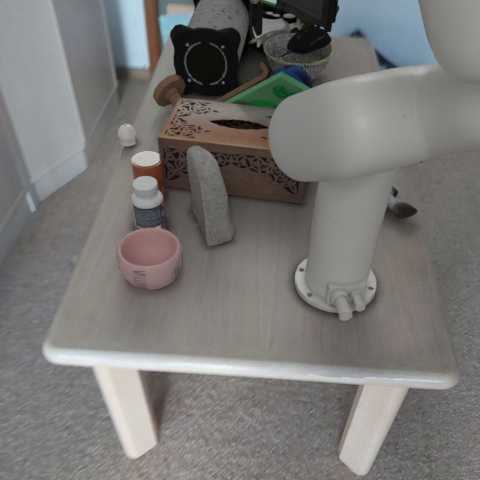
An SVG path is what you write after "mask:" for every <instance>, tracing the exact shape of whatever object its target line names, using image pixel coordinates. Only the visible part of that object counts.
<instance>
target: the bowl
mask: <svg viewBox="0 0 480 480" xmlns="http://www.w3.org/2000/svg"><path fill="white" fill-rule="evenodd" d="M295 34H296V33H289V34H282V35H278V36H275V37H272V38H270V39H269V40H267V41H266V42H265V44H264V45H263V46H264V47H263V49H264V52H263V53H265V56H266V58H267V62H268V64H269V67H270V69H271V70H272V73H274V72H275V71H276V70H277V69H278V68H280V67H282V66H285V65H297V66H299V67H301V68H303V69H304V70H305V71H306V72H307V73H308V74H309V76H310V78H311V80H312V81H313V80H315V79H316V78H318V77H319V76H320V75H321V74H322V73H323V72H324V71H325V69H326V67H327V65H328V63H329V61H330V59H331V57H332V56H333V54H334V51H335V48H334V46H333V44H331V43H330V44H328V45H327V46H326V47H324V48H321V49H318V50H315V51H313V52H310V53H307V54H297V53H293V52H291V53H290V54H288V55H285V56H283V57H281V55H283V54H285V53H286V52H287V51H289V50H288V49H287V44H288V42H289V40H290V39H291V38H292V37H293V36H294V35H295Z"/></svg>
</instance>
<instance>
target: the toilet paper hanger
mask: <svg viewBox="0 0 480 480" xmlns="http://www.w3.org/2000/svg"><path fill="white" fill-rule="evenodd" d="M257 69H258V70H259V71H260V73H261V74H260V75H258V76H256V77H254V78H253V79H251V80H249V81H247V82H245V83H243V84H242V85H240V87H238V88H236V89H234V90H233V91H231V92H229V93H227V94H225V95H224V96H220V97H218V98H216V99H214V101H215V102H225V101H227V100H229V99H230V98H232V97H234V96H236V95H238V94H240V93H242V92H244V91H246V90H247V89H249V88H251V87H253V86H255V85H257V84H259V83H261V82H263V81H264V80H266V79H267V77H268V74H269V69H268V67H267V66H266V64H265V63H264V62H263V61H262V62H260V63H258V65H257ZM185 86H186V85H185V82H184V80H183V79H182V78H181V76H179V75H176V73H173V74H171V75H168V76H166V77H165V78H164V79H162V80H161V81H159V83H158V84H157V86H156V87H155V88H154V90H153V95H152V97H153V99H154V101H155V103H156V104H157V105H158V106H159V107H163V108H165V107H167V106H171V105H172V107H174V106H175V104H176V103H177V101H178V99H179V98H183V95H182V93H183V92H184V89H185Z"/></svg>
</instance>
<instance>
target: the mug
mask: <svg viewBox="0 0 480 480" xmlns="http://www.w3.org/2000/svg"><path fill="white" fill-rule="evenodd" d="M116 261H117V262H116V263H117V267H118V269H119V271H120V273H121V274H122V277H124V278H125V280H126V281H127V282H128V283H129V284H130V285H132V286H134V287H136V288H138V289H141V290H146V291H156V290H159V289H164V288H166V287H168V286H170V285H171V284H172V283H173V282H174V281H176V279H177V278H178V276H179V274H180V272H181V271H182V269H183V268H182V267H183V265H184V249H183V246H182V242H181V240H180V239H179V238H178V236H177V235H175V234H174V233H173V232H171V231H169V230H167V229H165V230H164V229H162V227H161V226H157V227H156V228H143V229H139V230H136V229H135V230H133V231H131V232H129V233H127V234H126V235H125V236H124V237H122V239H121V240H120V242H119V243H118V245H117V248H116Z"/></svg>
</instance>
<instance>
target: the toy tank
mask: <svg viewBox="0 0 480 480" xmlns="http://www.w3.org/2000/svg"><path fill="white" fill-rule="evenodd" d="M261 1H262V3H263V18H265V19H272V20H273V19H280V18H282V19H283V20H284V21H286V22H287V23H288V24H291V23H297V19H298V17H296V16H294V15H293V14H291V13H289V12H287V11H285V10H284V9H283V10H280V12H279V13H278V15H277V14H275V13H276V11H277V10H276V7H275V5H276V2H275V3H274V2H271V1H269V0H261ZM300 20H301V21H302V22H303V23H304V25H303V26H302V28H301V29H303V28H305V27H308V26H311V25H313V26H316V25H314V24H312V23H309V22H307V21H305V20H302V19H300ZM301 29H300V30H301ZM300 30H299V29H298V28H297V27H295V28H293V29H292V30H290V33H297V32H299V31H300ZM250 35H251V39H252V40H255V36H254V32H253V28H252V27H250ZM263 47H264V45H262V44H261V45H260V47H257V42H256V43H252V46H251V48H252V49H255V50H258V51H260V52H263V53H265V52H264V49H263Z"/></svg>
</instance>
